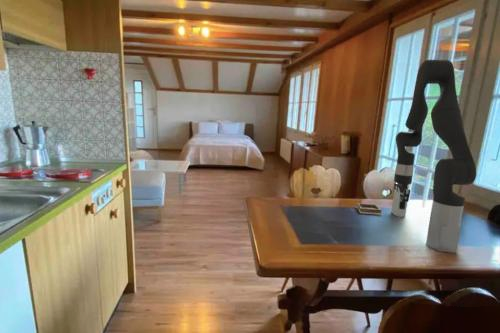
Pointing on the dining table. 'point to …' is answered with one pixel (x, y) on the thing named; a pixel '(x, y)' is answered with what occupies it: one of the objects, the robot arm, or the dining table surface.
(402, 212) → the skincare box
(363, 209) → the open birch box
